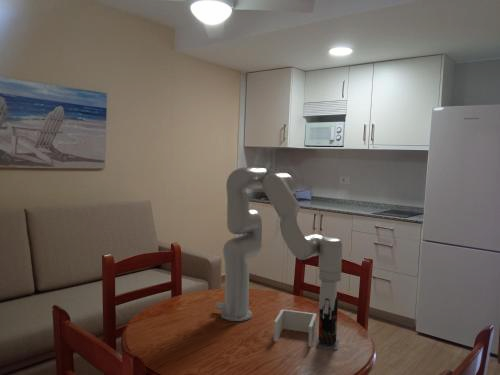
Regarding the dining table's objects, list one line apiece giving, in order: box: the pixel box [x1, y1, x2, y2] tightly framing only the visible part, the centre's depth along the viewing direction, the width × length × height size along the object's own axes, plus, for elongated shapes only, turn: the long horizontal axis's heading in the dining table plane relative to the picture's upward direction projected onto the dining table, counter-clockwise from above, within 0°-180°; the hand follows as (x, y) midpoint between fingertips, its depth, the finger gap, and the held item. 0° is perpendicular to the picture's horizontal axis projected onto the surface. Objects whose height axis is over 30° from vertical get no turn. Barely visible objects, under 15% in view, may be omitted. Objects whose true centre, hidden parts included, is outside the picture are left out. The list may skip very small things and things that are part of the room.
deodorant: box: [318, 296, 339, 344], centre depth 133 cm, size 6×6×15 cm
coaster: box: [315, 337, 340, 351], centre depth 134 cm, size 7×7×1 cm
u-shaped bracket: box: [273, 308, 317, 348], centre depth 139 cm, size 13×12×7 cm
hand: (327, 325), depth 133 cm, fingers closed on deodorant, 5 cm apart
